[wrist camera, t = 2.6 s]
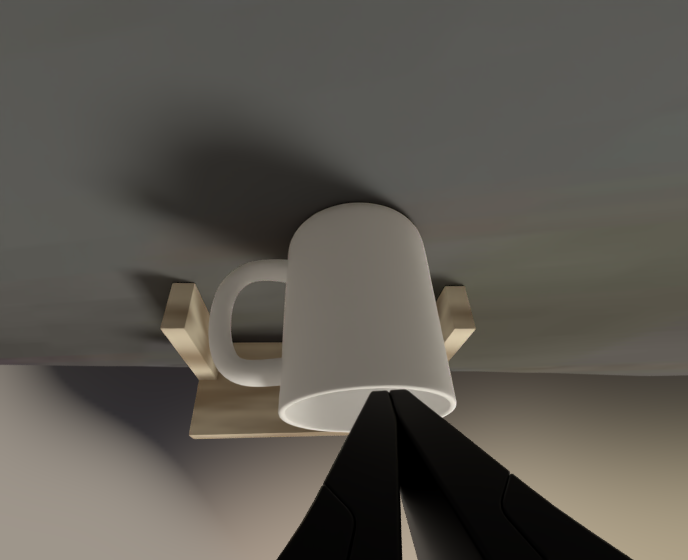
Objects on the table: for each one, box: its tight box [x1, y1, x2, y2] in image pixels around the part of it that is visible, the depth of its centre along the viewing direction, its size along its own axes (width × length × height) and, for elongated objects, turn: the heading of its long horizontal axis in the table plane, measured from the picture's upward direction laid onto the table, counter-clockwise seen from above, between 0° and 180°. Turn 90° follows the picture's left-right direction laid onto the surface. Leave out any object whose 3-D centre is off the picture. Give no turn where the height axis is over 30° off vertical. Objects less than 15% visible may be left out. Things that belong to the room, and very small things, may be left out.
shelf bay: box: [160, 283, 476, 439], centre depth 29 cm, size 12×21×8 cm, turn 85°
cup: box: [208, 203, 456, 432], centre depth 20 cm, size 8×12×10 cm
